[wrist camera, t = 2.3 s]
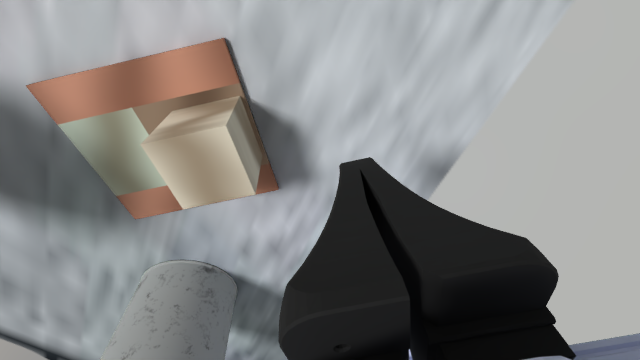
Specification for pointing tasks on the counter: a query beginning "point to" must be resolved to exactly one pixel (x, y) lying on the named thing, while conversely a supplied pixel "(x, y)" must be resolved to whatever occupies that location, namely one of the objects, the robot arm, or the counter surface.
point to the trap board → (142, 116)
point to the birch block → (206, 153)
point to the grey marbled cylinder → (176, 314)
